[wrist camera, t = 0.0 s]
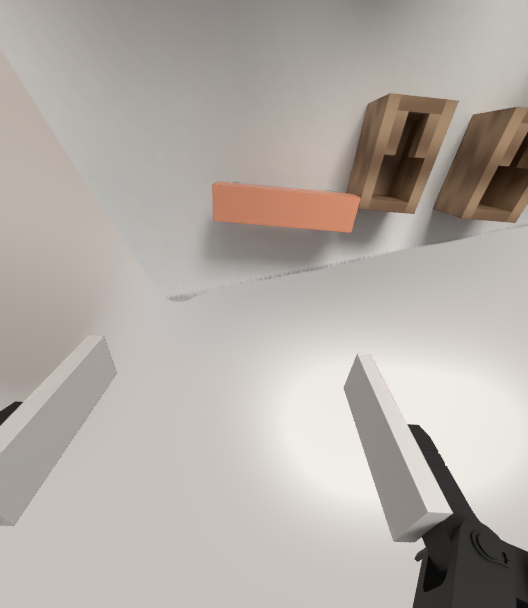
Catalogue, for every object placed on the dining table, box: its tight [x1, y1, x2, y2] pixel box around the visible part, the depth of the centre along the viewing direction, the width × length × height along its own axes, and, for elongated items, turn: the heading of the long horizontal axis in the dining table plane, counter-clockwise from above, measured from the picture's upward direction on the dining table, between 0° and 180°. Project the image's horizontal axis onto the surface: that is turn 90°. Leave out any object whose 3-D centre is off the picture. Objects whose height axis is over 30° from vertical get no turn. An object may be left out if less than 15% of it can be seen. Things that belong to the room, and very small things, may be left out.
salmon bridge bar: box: [212, 182, 361, 233], centre depth 32 cm, size 17×4×7 cm, turn 85°
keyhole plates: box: [347, 94, 528, 223], centre depth 30 cm, size 11×20×6 cm, turn 85°
